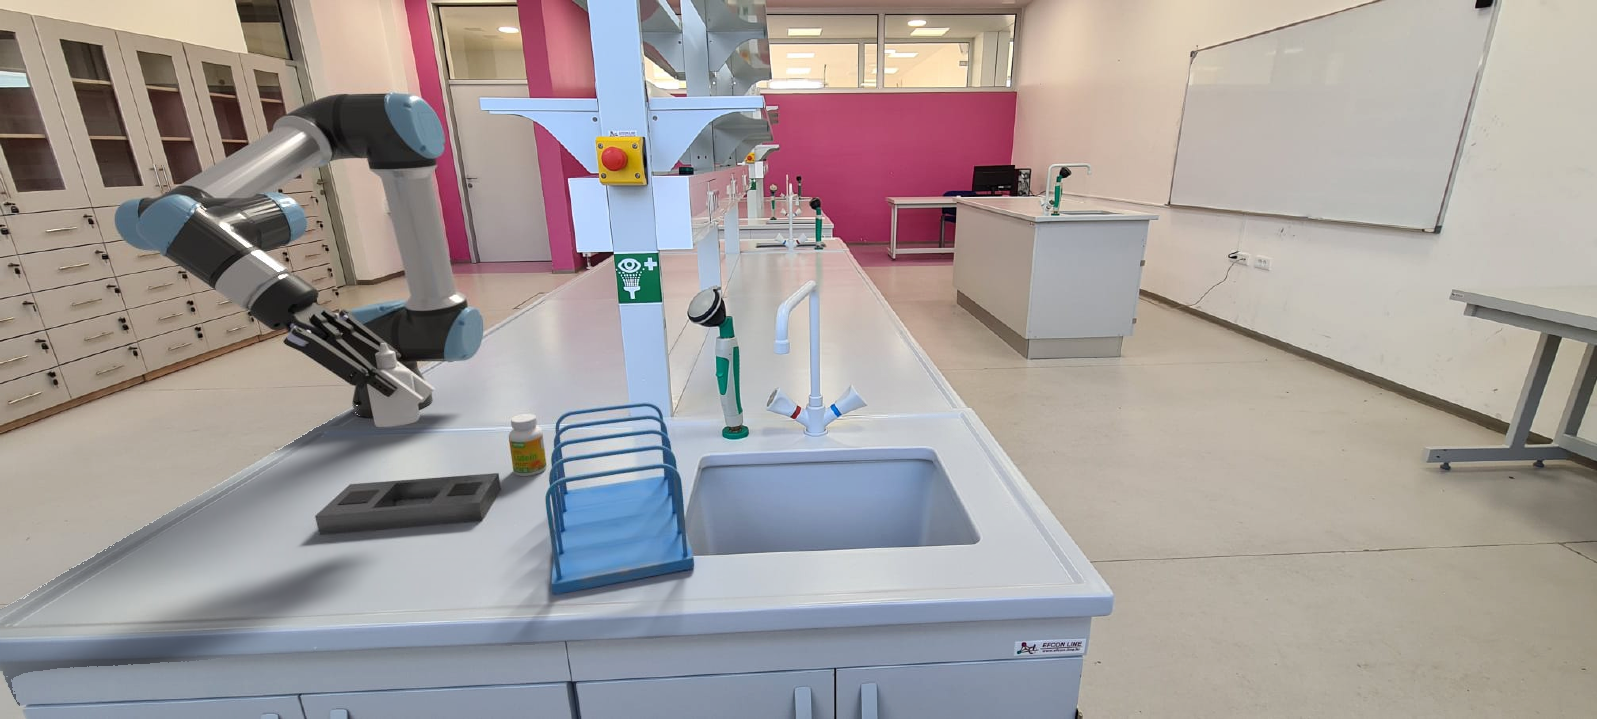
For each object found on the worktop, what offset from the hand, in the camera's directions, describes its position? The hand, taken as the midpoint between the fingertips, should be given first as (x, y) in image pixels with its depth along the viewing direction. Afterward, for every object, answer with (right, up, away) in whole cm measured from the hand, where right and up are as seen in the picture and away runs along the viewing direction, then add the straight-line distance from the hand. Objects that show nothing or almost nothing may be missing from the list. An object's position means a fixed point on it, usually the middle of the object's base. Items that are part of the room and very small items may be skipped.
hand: (422, 400), depth 95 cm
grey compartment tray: (-3, -17, +4) cm, 18 cm away
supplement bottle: (+8, -13, +18) cm, 24 cm away
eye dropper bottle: (-4, -4, 0) cm, 5 cm away
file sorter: (+30, -19, -2) cm, 35 cm away
